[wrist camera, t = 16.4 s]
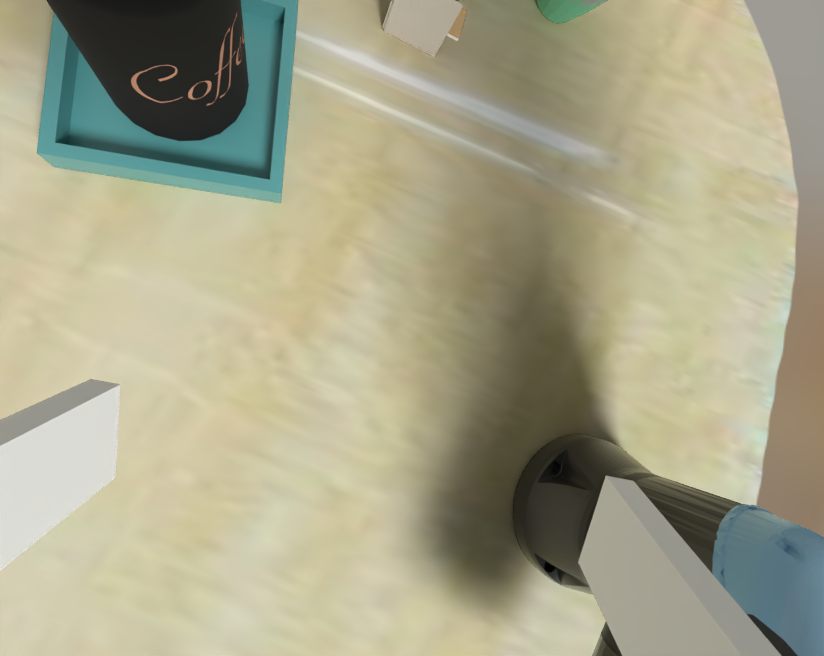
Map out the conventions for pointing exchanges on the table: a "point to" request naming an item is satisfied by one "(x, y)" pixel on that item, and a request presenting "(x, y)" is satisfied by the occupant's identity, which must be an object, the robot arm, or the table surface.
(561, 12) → the mug
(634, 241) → the table surface
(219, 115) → the coffee jar
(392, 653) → the table surface
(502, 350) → the table surface
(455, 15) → the architectural model
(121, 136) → the tray
